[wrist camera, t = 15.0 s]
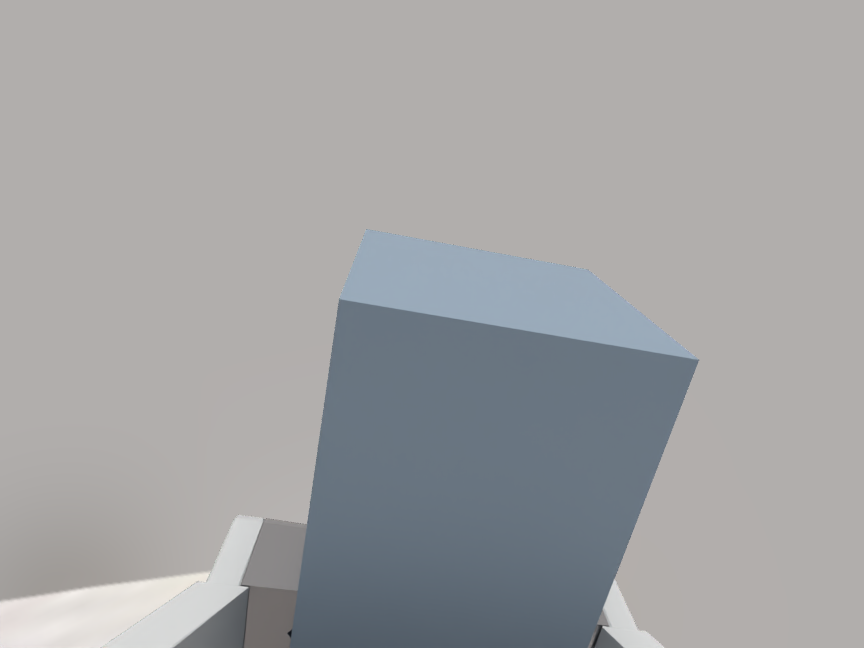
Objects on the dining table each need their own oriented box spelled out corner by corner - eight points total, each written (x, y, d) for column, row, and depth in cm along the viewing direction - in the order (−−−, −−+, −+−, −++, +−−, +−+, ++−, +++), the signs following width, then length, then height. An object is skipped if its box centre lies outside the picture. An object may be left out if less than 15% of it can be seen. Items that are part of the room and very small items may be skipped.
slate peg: (239, 1001, 10) (339, 298, 6) (284, 766, 14) (366, 229, 9) (447, 1009, 11) (699, 360, 6) (437, 778, 14) (588, 269, 10)
